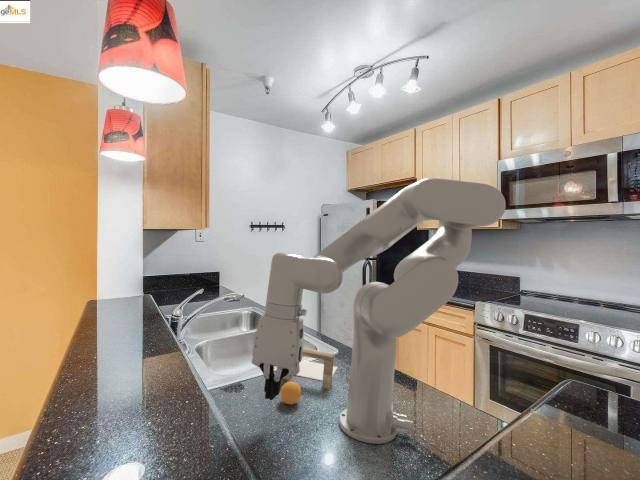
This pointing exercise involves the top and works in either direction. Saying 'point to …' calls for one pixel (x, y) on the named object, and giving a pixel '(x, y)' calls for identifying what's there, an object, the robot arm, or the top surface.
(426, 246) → the robot arm
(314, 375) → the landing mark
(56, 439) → the top surface
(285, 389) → the ball
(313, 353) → the bridge
